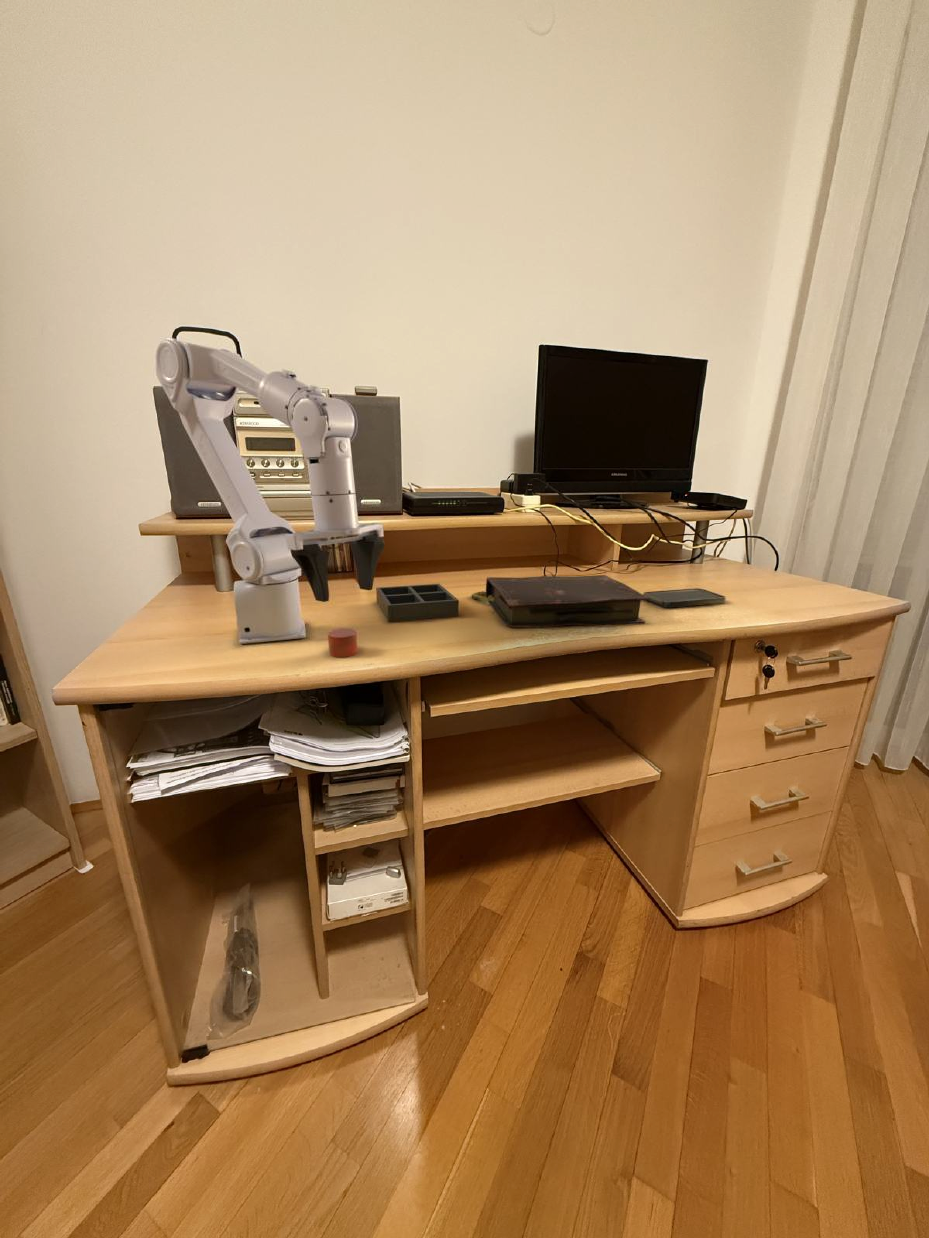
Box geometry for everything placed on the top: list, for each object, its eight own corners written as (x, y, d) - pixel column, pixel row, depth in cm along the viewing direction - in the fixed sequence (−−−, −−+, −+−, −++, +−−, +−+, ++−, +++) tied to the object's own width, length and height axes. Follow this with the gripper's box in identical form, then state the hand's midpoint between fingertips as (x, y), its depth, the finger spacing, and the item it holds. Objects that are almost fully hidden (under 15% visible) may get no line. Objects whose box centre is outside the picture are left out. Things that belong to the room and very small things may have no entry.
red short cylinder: (330, 658, 69) (328, 638, 68) (328, 648, 72) (326, 629, 71) (359, 655, 70) (358, 635, 69) (355, 645, 73) (354, 626, 72)
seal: (468, 612, 96) (546, 614, 94) (467, 589, 94) (547, 591, 92) (474, 595, 104) (545, 596, 102) (473, 574, 102) (546, 575, 100)
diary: (484, 599, 98) (485, 574, 97) (601, 595, 103) (604, 572, 101) (508, 632, 81) (510, 603, 79) (647, 626, 85) (651, 599, 84)
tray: (388, 622, 84) (387, 605, 83) (376, 602, 95) (376, 587, 95) (458, 616, 88) (458, 600, 87) (439, 597, 99) (439, 583, 98)
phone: (641, 592, 101) (700, 587, 106) (640, 597, 102) (699, 592, 106) (666, 602, 94) (728, 597, 98) (665, 608, 95) (727, 602, 99)
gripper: (303, 497, 57) (318, 610, 61) (394, 491, 68) (402, 587, 71) (270, 498, 61) (286, 603, 65) (361, 492, 72) (370, 582, 76)
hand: (345, 594), depth 69 cm, fingers open, 7 cm apart
